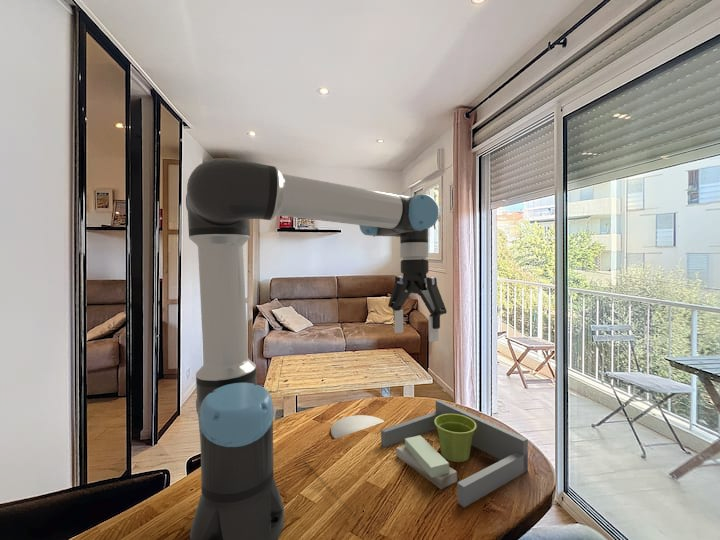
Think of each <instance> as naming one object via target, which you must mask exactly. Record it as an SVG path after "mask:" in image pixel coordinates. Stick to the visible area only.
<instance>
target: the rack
mask: <svg viewBox="0 0 720 540" xmlns="http://www.w3.org/2000/svg"><path fill="white" fill-rule="evenodd" d="M443 414H459V415H463V416H466V417H468V418H470V419H472V420H473V421H474V422H475V423H476V430H475V431H474V434H473V436H472V443H471V446H474V447H475V448H477V449H479V450H481V451H483V452H485V453H487V454H488V455H490V456H492V457H494V458H496V459H497V460H498V461H497V462H495V463H493V464H491V465H489V466H486V467H484V468H483V469H481V470H480V471H478V472H475V473H473V474H471V475H469V476H466V478H464V479H461V480H460V481H457V482H456V484H457V488H456V489H457V491H456V492H457V493H456V494H457V497H456V498H457V504H458V505H460V506H461V507H463V508H466V507H468V506H469V505H471V504H473V503H475V502H477V501H479V500H480V499H482V498H483V497H486V495H488V494H491V492H493V491H496V490H497V489H499V488H500V487H502V486H504V485H506V484H507V483H509V482H510V481H512V480H515V479H517V478H518V477H519V476H521V475H523V474H525V473H526V472H528V471H529V457H528V455H529V448H528V447H529V446H528V445H529V441H528V440H529V439H528V438H527V437H524V436H523V435H520V434H517V433H515V432H513V431H510V430H508V429H507V428H504V427H502V426H499V425H498V424H495V423H493V422H490V421H488V420H486V419H484V418H482V417H480V416H477V415H475V414H473V413H470V412H468V411H466V410H464V409H463V408H460V407H457V406H454V405H453V404H451V403H448V402H446V401H444V400H441V399H436V400H435V411H434V412H431V413H427V414H425V415H421V416H418V417H416V418H412V419H409V420H406V421H403V422H400V423H397V424H395V425H391V426H388V427H385V428H382V429H381V430H380V445H381V446H382V447H383V448H388V447H390V446H394V445H396V444H398V443H401V442H403V441H404V442H405V438H410V437H414V436H419V435H421V436H422V435H423V434H425V433H428V432H431V431H433V430H437V426H436V425H435V422H434V420H435V418H436V417H438V416H439V415H443Z"/></svg>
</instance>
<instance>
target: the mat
mask: <svg viewBox="0 0 720 540" xmlns="http://www.w3.org/2000/svg"><path fill="white" fill-rule="evenodd" d="M381 423H385V420H383V419H382V418H379V417H376V416H372V415H362V414H358V415H349V416H345V417H343V418H340V419H338V420H337V421H335V422H334V423H333V424H332V426H331V428H330V434H331V436H332V437H333V438H334V440H336V439H338V438H339V439H340V438H342V437H345V436H348V435H351V434H353V433H356V432H359V431H362V430H365V429H367V428H370V427H373V426H375V425H378V424H381Z"/></svg>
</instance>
